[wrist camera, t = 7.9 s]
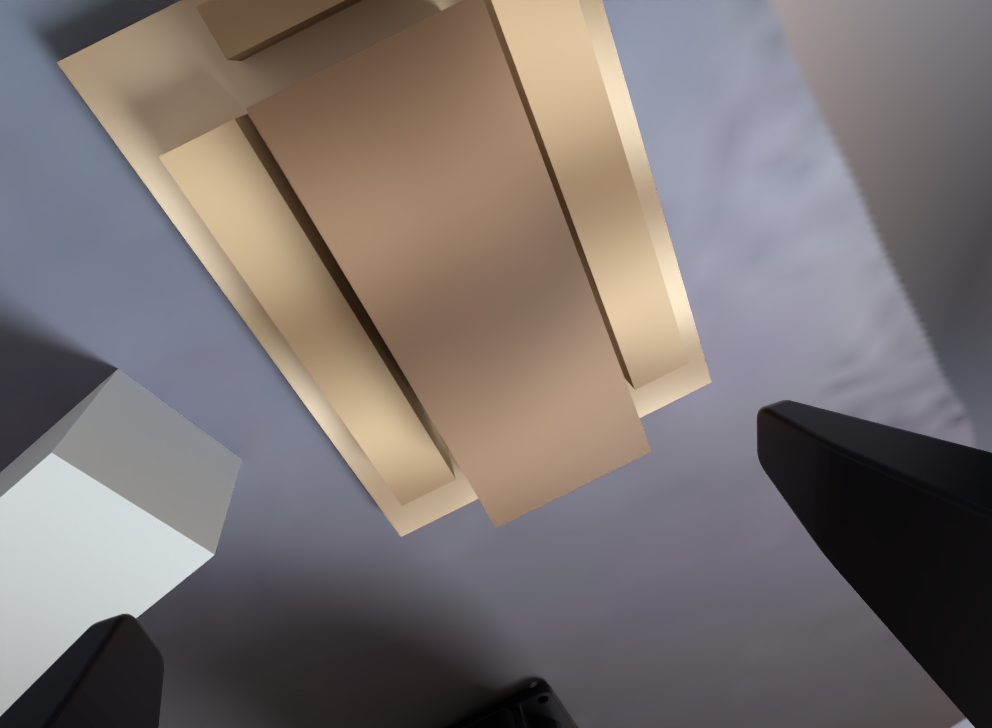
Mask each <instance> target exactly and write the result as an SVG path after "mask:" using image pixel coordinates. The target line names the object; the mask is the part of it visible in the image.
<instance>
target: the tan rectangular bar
mask: <svg viewBox="0 0 992 728" xmlns="http://www.w3.org/2000/svg"><path fill="white" fill-rule="evenodd" d="M246 110H247V112H248V113H249V115H250V117H251V118H252V120H253V122H254V123H255V125H256V127H257V128H258V130H259V132H260V133H261V135H262V137H263V139H264V140H265V142H266V144H267V145H268V147H269V149H270V150H271V152H272V154H273V155H274V157H275V159H276V160H277V162H278V164H279V165H280V167H281V169H282V170H283V172H284V174H285V175H286V177H287V179H288V180H289V182H290V184H291V185H292V187H293V189H294V190H295V192H296V194H297V195H298V197H299V199H300V200H301V202H302V204H303V205H304V207H305V209H306V210H307V212H308V214H309V215H310V217H311V219H312V221H313V222H314V224H315V226H316V227H317V229H318V231H319V232H320V234H321V236H322V237H323V239H324V241H325V242H326V244H327V246H328V247H329V249H330V251H331V252H332V254H333V256H334V257H335V259H336V261H337V262H338V264H339V266H340V267H341V269H342V271H343V272H344V274H345V276H346V277H347V279H348V281H349V282H350V284H351V286H352V287H353V289H354V291H355V292H356V294H357V296H358V298H359V299H360V301H361V303H362V304H363V306H364V308H365V309H366V311H367V313H368V314H369V316H370V318H371V319H372V321H373V323H374V324H375V326H376V328H377V329H378V331H379V333H380V334H381V336H382V338H383V339H384V341H385V343H386V344H387V346H388V348H389V349H390V351H391V353H392V354H393V356H394V358H395V359H396V361H397V363H398V364H399V366H400V368H401V369H402V371H403V373H404V374H405V376H406V378H407V380H408V381H409V383H410V385H411V386H412V388H413V390H414V391H415V393H416V395H417V396H418V398H419V400H420V401H421V403H422V405H423V406H424V408H425V410H426V411H427V413H428V415H429V416H430V418H431V420H432V421H433V423H434V425H435V426H436V428H437V430H438V431H439V433H440V435H441V436H442V438H443V440H444V441H445V443H446V445H447V446H448V448H449V450H450V451H451V453H452V455H453V457H454V458H455V460H456V462H457V463H458V465H459V467H460V468H461V470H462V472H463V473H464V475H465V477H466V478H467V480H468V482H469V483H470V485H471V487H472V488H473V490H474V492H475V493H476V495H477V497H478V498H479V500H480V502H481V503H482V505H483V507H484V508H485V510H486V512H487V513H488V515H489V517H490V518H491V520H492V522H493V523H494V525H495V527H496V528H498V527H500V526H502V525H504V524H506V523H508V522H510V521H512V520H514V519H516V518H518V517H520V516H522V515H524V514H526V513H528V512H530V511H532V510H535V509H537V508H539V507H541V506H543V505H545V504H547V503H549V502H551V501H553V500H555V499H557V498H559V497H561V496H563V495H565V494H567V493H569V492H571V491H573V490H575V489H577V488H579V487H581V486H583V485H585V484H587V483H589V482H591V481H593V480H595V479H597V478H599V477H601V476H603V475H605V474H607V473H609V472H611V471H613V470H615V469H617V468H619V467H621V466H623V465H625V464H627V463H629V462H631V461H633V460H635V459H637V458H639V457H641V456H643V455H645V454H647V453H649V452H651V448H650V445H649V443H648V440H647V437H646V435H645V432H644V429H643V426H642V424H641V421H640V418H639V416H638V413H637V410H636V408H635V405H634V402H633V400H632V397H631V394H630V392H629V389H628V386H627V384H626V381H625V378H624V375H623V373H622V370H621V367H620V365H619V362H618V359H617V357H616V354H615V351H614V349H613V346H612V343H611V341H610V338H609V335H608V333H607V330H606V327H605V324H604V322H603V319H602V316H601V314H600V311H599V308H598V306H597V303H596V300H595V298H594V295H593V292H592V290H591V287H590V284H589V282H588V279H587V276H586V273H585V271H584V268H583V265H582V263H581V260H580V257H579V255H578V252H577V249H576V247H575V244H574V241H573V239H572V236H571V233H570V231H569V228H568V225H567V222H566V220H565V217H564V214H563V212H562V209H561V206H560V204H559V201H558V198H557V196H556V193H555V190H554V188H553V185H552V182H551V180H550V177H549V174H548V171H547V169H546V166H545V163H544V161H543V158H542V155H541V153H540V150H539V147H538V145H537V142H536V139H535V137H534V134H533V131H532V129H531V126H530V123H529V120H528V118H527V115H526V112H525V110H524V107H523V104H522V102H521V99H520V96H519V94H518V91H517V88H516V86H515V83H514V80H513V78H512V75H511V72H510V69H509V67H508V64H507V61H506V59H505V56H504V53H503V51H502V48H501V45H500V43H499V40H498V37H497V35H496V32H495V29H494V27H493V24H492V21H491V18H490V16H489V13H488V10H487V8H486V5H485V2H484V0H462V1H460V2H458V3H456V4H454V5H452V6H450V7H448V8H446V9H444V10H442V11H440V12H438V13H436V14H434V15H432V16H430V17H428V18H426V19H424V20H422V21H420V22H418V23H416V24H414V25H412V26H410V27H408V28H406V29H404V30H402V31H400V32H398V33H396V34H394V35H392V36H390V37H388V38H386V39H384V40H382V41H380V42H378V43H376V44H374V45H372V46H370V47H368V48H366V49H364V50H362V51H360V52H358V53H356V54H354V55H352V56H350V57H348V58H346V59H344V60H342V61H340V62H338V63H336V64H334V65H332V66H330V67H328V68H326V69H324V70H322V71H320V72H318V73H316V74H314V75H312V76H310V77H308V78H306V79H304V80H302V81H300V82H298V83H296V84H294V85H292V86H290V87H288V88H286V89H284V90H282V91H280V92H278V93H276V94H274V95H272V96H270V97H268V98H266V99H264V100H262V101H260V102H258V103H256V104H254V105H251V106H249V107H247V108H246Z"/></svg>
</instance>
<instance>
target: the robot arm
mask: <svg viewBox="0 0 992 728" xmlns="http://www.w3.org/2000/svg"><path fill="white" fill-rule="evenodd" d="M757 452H758V458H759V461H760V464H761V466H762V468H763V469H764V471H765V472H766V474H767V475H768V476H769V478H770V479H771V481H772V482H773V484H774V485H775V486H776V488H777V489H778V491H779V492H780V493H781V495H782V496H783V498H784V499H785V501H786V502H787V503H788V505H789V506H790V508H791V509H792V510H793V512H794V513H795V515H796V516H797V518H798V519H799V520H800V522H801V523H802V525H803V526H804V527H805V529H806V530H807V532H808V533H809V535H810V536H811V537H812V539H813V540H814V542H815V543H816V544H817V546H818V547H819V548H820V550H821V551H822V552H823V553H824V555H825V556H826V557H827V558H828V560H829V561H830V562H831V563H832V564H833V566H834V567H835V568H836V569H837V570H838V571H839V573H840V574H841V575H842V576H843V577H844V578H845V579H846V581H847V582H848V583H849V584H850V585H851V586H852V587H853V589H854V590H855V591H856V592H857V593H858V594H859V595H860V597H861V598H862V599H863V600H864V601H865V602H866V603H867V605H868V606H869V607H870V608H871V609H872V610H873V611H874V613H875V614H876V615H877V616H878V617H879V618H880V619H881V621H882V622H883V623H884V624H885V625H886V626H887V627H888V629H889V630H890V631H891V632H892V633H893V634H894V635H895V637H896V638H897V639H898V640H899V641H900V642H901V643H902V645H903V646H904V647H905V648H906V649H907V650H908V651H909V653H910V654H911V655H912V656H913V657H914V658H915V659H916V661H917V662H918V663H919V664H920V665H921V666H922V668H923V669H924V670H925V671H926V672H927V673H928V674H929V676H930V677H931V678H932V679H933V680H934V681H935V682H936V684H937V685H938V686H939V687H940V688H941V689H942V690H943V692H944V693H945V694H946V695H947V696H948V697H949V698H950V700H951V701H952V702H953V703H954V704H955V705H956V706H957V708H958V709H959V710H960V711H961V712H962V713H963V714H964V716H965V717H966V718H967V719H968V720H969V721H970V722H971V724H972V725H973V726H974V727H975V728H992V453H991V452H987V451H984V450H980V449H976V448H972V447H968V446H964V445H960V444H956V443H953V442H949V441H945V440H941V439H937V438H933V437H929V436H926V435H922V434H918V433H914V432H910V431H906V430H902V429H898V428H895V427H891V426H887V425H883V424H879V423H875V422H871V421H868V420H864V419H860V418H856V417H852V416H848V415H844V414H840V413H837V412H833V411H829V410H825V409H821V408H817V407H813V406H810V405H806V404H802V403H798V402H794V401H790V400H783V401H779V402H776V403H773V404H770V405H767V406H764V407H762V408H761V409H760V410H759V411H758V414H757ZM163 675H164V662H163V657H162V654H161V652H160V650H159V648H158V647H157V646H156V644H155V643H154V642H153V640H152V639H151V638H150V637H149V635H148V634H147V633H146V631H145V630H144V629H143V627H142V626H141V625H140V623H139V622H138V621H137V619H136V618H135V617H134V616H132V615H130V614H120V615H117V616H114V617H110V618H107V619H104V620H101V621H99V622H96V623H94V624H93V625H91V626H90V627H89V628H88V629H87V630H86V631H85V632H84V633H83V634H82V635H81V636H80V637H79V638H78V639H77V640H76V641H75V642H74V643H73V644H72V645H71V646H70V647H69V648H68V649H67V650H66V651H65V652H64V653H63V654H62V655H61V656H60V657H59V658H58V659H57V660H56V661H55V662H54V663H53V664H52V665H51V666H50V667H49V668H48V669H47V670H46V671H45V672H44V673H43V674H42V675H41V676H40V677H39V678H38V679H37V680H36V681H35V682H34V683H33V684H32V685H31V686H30V687H29V688H28V689H27V690H26V691H25V692H24V693H23V694H22V695H21V696H20V697H19V698H18V699H17V700H16V701H15V702H14V703H13V704H12V705H11V706H10V707H9V708H8V709H7V710H6V711H5V712H4V713H3V714H2V715H1V716H0V728H158V726H159V716H160V705H161V695H162V685H163ZM453 728H578V727H577V726H576V724H575V723H574V721H573V720H572V718H571V717H570V715H569V714H568V712H567V711H566V709H565V708H564V706H563V705H562V703H561V702H560V700H559V699H558V697H557V696H556V694H555V693H554V691H553V690H552V688H551V687H550V686H549V685H547V684H540V685H537V686H535V687H533V688H531V689H529V690H527V691H525V692H523V693H521V694H519V695H517V696H515V697H513V698H511V699H509V700H507V701H505V702H503V703H501V704H499V705H497V706H495V707H493V708H491V709H489V710H487V711H485V712H483V713H481V714H479V715H477V716H475V717H473V718H471V719H469V720H467V721H465V722H463V723H461V724H459V725H457V726H455V727H453Z"/></svg>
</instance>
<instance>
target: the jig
mask: <svg viewBox="0 0 992 728" xmlns="http://www.w3.org/2000/svg"><path fill="white" fill-rule="evenodd" d="M460 1H462V0H180V1H178V2H176V3H174V4H172V5H170V6H168V7H166V8H164V9H162V10H160V11H158V12H156V13H154V14H152V15H150V16H148V17H146V18H144V19H142V20H140V21H138V22H136V23H134V24H132V25H130V26H128V27H126V28H124V29H122V30H120V31H118V32H116V33H114V34H112V35H110V36H108V37H106V38H104V39H102V40H100V41H99V42H97V43H95V44H93V45H91V46H89V47H87V48H85V49H83V50H81V51H79V52H77V53H75V54H73V55H71V56H69V57H67V58H65V59H63V60H61V61H59V62H57V63H58V65H59V66H60V68H61V69H62V70H63V72H64V73H65V74H66V76H67V77H68V79H69V80H70V81H71V83H72V84H73V85H74V87H75V88H76V90H77V91H78V92H79V94H80V95H81V96H82V98H83V99H84V101H85V102H86V103H87V105H88V106H89V108H90V109H91V110H92V112H93V113H94V114H95V116H96V117H97V119H98V120H99V121H100V123H101V124H102V125H103V127H104V128H105V130H106V131H107V132H108V134H109V135H110V136H111V138H112V139H113V141H114V142H115V143H116V145H117V146H118V147H119V149H120V150H121V152H122V153H123V154H124V156H125V157H126V159H127V160H128V161H129V163H130V164H131V165H132V167H133V168H134V170H135V171H136V172H137V174H138V175H139V176H140V178H141V179H142V181H143V182H144V183H145V185H146V186H147V187H148V189H149V190H150V192H151V193H152V194H153V196H154V197H155V198H156V200H157V201H158V203H159V204H160V205H161V207H162V208H163V209H164V211H165V212H166V214H167V215H168V216H169V218H170V219H171V221H172V222H173V223H174V225H175V226H176V227H177V229H178V230H179V232H180V233H181V234H182V236H183V237H184V238H185V240H186V241H187V243H188V244H189V245H190V247H191V248H192V249H193V251H194V252H195V254H196V255H197V256H198V258H199V259H200V260H201V262H202V263H203V265H204V266H205V267H206V269H207V270H208V272H209V273H210V274H211V276H212V277H213V278H214V280H215V281H216V283H217V284H218V285H219V287H220V288H221V289H222V291H223V292H224V294H225V295H226V296H227V298H228V299H229V300H230V302H231V303H232V305H233V306H234V307H235V309H236V310H237V311H238V313H239V314H240V316H241V317H242V318H243V320H244V321H245V323H246V324H247V325H248V327H249V328H250V329H251V331H252V332H253V334H254V335H255V336H256V338H257V339H258V340H259V342H260V343H261V345H262V346H263V347H264V349H265V350H266V351H267V353H268V354H269V356H270V357H271V358H272V360H273V361H274V362H275V364H276V365H277V367H278V368H279V369H280V371H281V372H282V373H283V375H284V376H285V378H286V379H287V380H288V382H289V383H290V385H291V386H292V387H293V389H294V390H295V391H296V393H297V394H298V396H299V397H300V398H301V400H302V401H303V402H304V404H305V405H306V407H307V408H308V409H309V411H310V412H311V413H312V415H313V416H314V418H315V419H316V420H317V422H318V423H319V424H320V426H321V427H322V429H323V430H324V431H325V433H326V434H327V436H328V437H329V438H330V440H331V441H332V442H333V444H334V445H335V447H336V448H337V449H338V451H339V452H340V453H341V455H342V456H343V458H344V459H345V460H346V462H347V463H348V464H349V466H350V467H351V469H352V470H353V471H354V473H355V474H356V475H357V477H358V478H359V480H360V481H361V482H362V484H363V485H364V487H365V488H366V489H367V491H368V492H369V493H370V495H371V496H372V498H373V499H374V500H375V502H376V503H377V504H378V506H379V507H380V509H381V510H382V511H383V513H384V514H385V515H386V517H387V518H388V520H389V521H390V522H391V524H392V525H393V526H394V528H395V529H396V531H397V532H398V533H399V535H400V536H401V537H402V536H404V535H406V534H408V533H410V532H412V531H414V530H416V529H418V528H420V527H422V526H424V525H426V524H428V523H430V522H432V521H434V520H436V519H438V518H440V517H442V516H444V515H446V514H448V513H450V512H452V511H454V510H456V509H458V508H460V507H462V506H464V505H466V504H468V503H470V502H472V501H474V500H476V499H478V497H477V495H476V493H475V492H474V490H473V488H472V487H471V485H470V483H469V482H468V480H467V478H466V477H465V475H464V473H463V472H462V470H461V468H460V467H459V465H458V463H457V462H456V460H455V458H454V457H453V455H452V453H451V451H450V450H449V448H448V446H447V445H446V443H445V441H444V440H443V438H442V436H441V435H440V433H439V431H438V430H437V428H436V426H435V425H434V423H433V421H432V420H431V418H430V416H429V415H428V413H427V411H426V410H425V408H424V406H423V405H422V403H421V401H420V400H419V398H418V396H417V395H416V393H415V391H414V390H413V388H412V386H411V385H410V383H409V381H408V380H407V378H406V376H405V374H404V373H403V371H402V369H401V368H400V366H399V364H398V363H397V361H396V359H395V358H394V356H393V354H392V353H391V351H390V349H389V348H388V346H387V344H386V343H385V341H384V339H383V338H382V336H381V334H380V333H379V331H378V329H377V328H376V326H375V324H374V323H373V321H372V319H371V318H370V316H369V314H368V313H367V311H366V309H365V308H364V306H363V304H362V303H361V301H360V299H359V298H358V296H357V294H356V292H355V291H354V289H353V287H352V286H351V284H350V282H349V281H348V279H347V277H346V276H345V274H344V272H343V271H342V269H341V267H340V266H339V264H338V262H337V261H336V259H335V257H334V256H333V254H332V252H331V251H330V249H329V247H328V246H327V244H326V242H325V241H324V239H323V237H322V236H321V234H320V232H319V231H318V229H317V227H316V226H315V224H314V222H313V221H312V219H311V217H310V215H309V214H308V212H307V210H306V209H305V207H304V205H303V204H302V202H301V200H300V199H299V197H298V195H297V194H296V192H295V190H294V189H293V187H292V185H291V184H290V182H289V180H288V179H287V177H286V175H285V174H284V172H283V170H282V169H281V167H280V165H279V164H278V162H277V160H276V159H275V157H274V155H273V154H272V152H271V150H270V149H269V147H268V145H267V144H266V142H265V140H264V139H263V137H262V135H261V133H260V132H259V130H258V128H257V127H256V125H255V123H254V122H253V120H252V118H251V117H250V115H249V113H248V112H247V110H246V108H247V107H249V106H251V105H254V104H256V103H258V102H260V101H262V100H264V99H266V98H268V97H270V96H272V95H274V94H276V93H278V92H280V91H282V90H284V89H286V88H288V87H290V86H292V85H294V84H296V83H298V82H300V81H302V80H304V79H306V78H308V77H310V76H312V75H314V74H316V73H318V72H320V71H322V70H324V69H326V68H328V67H330V66H332V65H334V64H336V63H338V62H340V61H342V60H344V59H346V58H348V57H350V56H352V55H354V54H356V53H358V52H360V51H362V50H364V49H366V48H368V47H370V46H372V45H374V44H376V43H378V42H380V41H382V40H384V39H386V38H388V37H390V36H392V35H394V34H396V33H398V32H400V31H402V30H404V29H406V28H408V27H410V26H412V25H414V24H416V23H418V22H420V21H422V20H424V19H426V18H428V17H430V16H432V15H434V14H436V13H438V12H440V11H442V10H444V9H446V8H448V7H450V6H452V5H454V4H456V3H458V2H460ZM484 2H485V5H486V8H487V10H488V13H489V16H490V18H491V21H492V24H493V27H494V29H495V32H496V35H497V37H498V40H499V43H500V45H501V48H502V51H503V53H504V56H505V59H506V61H507V64H508V67H509V69H510V72H511V75H512V78H513V80H514V83H515V86H516V88H517V91H518V94H519V96H520V99H521V102H522V104H523V107H524V110H525V112H526V115H527V118H528V120H529V123H530V126H531V129H532V131H533V134H534V137H535V139H536V142H537V145H538V147H539V150H540V153H541V155H542V158H543V161H544V163H545V166H546V169H547V171H548V174H549V177H550V180H551V182H552V185H553V188H554V190H555V193H556V196H557V198H558V201H559V204H560V206H561V209H562V212H563V214H564V217H565V220H566V222H567V225H568V228H569V231H570V233H571V236H572V239H573V241H574V244H575V247H576V249H577V252H578V255H579V257H580V260H581V263H582V265H583V268H584V271H585V273H586V276H587V279H588V282H589V284H590V287H591V290H592V292H593V295H594V298H595V300H596V303H597V306H598V308H599V311H600V314H601V316H602V319H603V322H604V324H605V327H606V330H607V333H608V335H609V338H610V341H611V343H612V346H613V349H614V351H615V354H616V357H617V359H618V362H619V365H620V367H621V370H622V373H623V375H624V378H625V381H626V384H627V386H628V389H629V392H630V394H631V397H632V400H633V402H634V405H635V408H636V410H637V413H638V416H639V418H641V417H643V416H645V415H647V414H649V413H651V412H653V411H655V410H657V409H659V408H661V407H663V406H665V405H667V404H669V403H671V402H673V401H675V400H677V399H679V398H681V397H683V396H685V395H687V394H689V393H691V392H693V391H695V390H697V389H699V388H701V387H703V386H705V385H707V384H709V383H711V379H710V375H709V372H708V368H707V365H706V361H705V358H704V354H703V351H702V347H701V344H700V340H699V337H698V333H697V330H696V326H695V323H694V319H693V316H692V312H691V309H690V305H689V302H688V298H687V295H686V291H685V288H684V284H683V281H682V277H681V274H680V271H679V267H678V264H677V260H676V257H675V253H674V250H673V246H672V243H671V239H670V236H669V232H668V229H667V225H666V222H665V218H664V215H663V211H662V208H661V204H660V201H659V197H658V194H657V190H656V187H655V183H654V180H653V176H652V173H651V169H650V166H649V162H648V159H647V155H646V152H645V148H644V145H643V141H642V138H641V134H640V131H639V128H638V124H637V121H636V117H635V114H634V110H633V107H632V103H631V100H630V96H629V93H628V89H627V86H626V82H625V79H624V75H623V72H622V68H621V65H620V61H619V58H618V54H617V51H616V47H615V44H614V40H613V37H612V33H611V30H610V26H609V23H608V19H607V16H606V12H605V9H604V5H603V2H602V0H484Z"/></svg>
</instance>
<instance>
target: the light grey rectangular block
mask: <svg viewBox="0 0 992 728" xmlns="http://www.w3.org/2000/svg"><path fill="white" fill-rule="evenodd" d="M241 461H242V459H240V458H239V457H238V456H236V455H235V454H234V453H232V452H231V451H230V450H228V449H227V448H225V447H224V446H223V445H221V444H220V443H219V442H217V441H216V440H215V439H213V438H212V437H211V436H209V435H208V434H206V433H205V432H204V431H202V430H201V429H200V428H198V427H197V426H196V425H194V424H193V423H192V422H190V421H189V420H187V419H186V418H185V417H183V416H182V415H181V414H179V413H178V412H177V411H175V410H174V409H173V408H171V407H170V406H168V405H167V404H166V403H164V402H163V401H162V400H160V399H159V398H158V397H156V396H155V395H153V394H152V393H151V392H149V391H148V390H147V389H145V388H144V387H143V386H141V385H140V384H139V383H137V382H136V381H134V380H133V379H132V378H130V377H129V376H128V375H126V374H125V373H124V372H122V371H121V370H120V369H117V370H116V371H115V372H114V373H113V374H111V375H110V376H109V377H108V378H107V379H106V380H105V381H103V382H102V383H101V384H100V385H99V386H98V387H97V388H96V389H94V390H93V391H92V392H91V393H90V394H89V395H88V396H86V397H85V398H84V399H83V400H82V401H81V402H80V403H79V404H77V405H76V406H75V407H74V408H73V409H72V410H71V411H69V412H68V413H67V414H66V415H65V416H64V417H63V418H62V419H60V420H59V421H58V422H57V423H56V424H55V425H54V426H52V427H51V428H50V429H49V430H48V431H47V432H46V433H45V434H43V435H42V436H41V437H40V438H39V439H38V440H37V441H35V442H34V443H33V444H32V445H31V446H30V447H29V448H28V449H26V450H25V451H24V452H23V453H22V454H21V455H20V456H18V457H17V458H16V459H15V460H14V461H13V462H12V463H11V464H9V465H8V466H7V467H6V468H5V469H4V470H3V471H1V472H0V716H1V715H2V714H3V713H4V712H5V711H6V710H7V709H8V708H9V707H10V706H11V705H12V704H13V703H14V702H15V701H16V700H17V699H18V698H19V697H20V696H21V695H22V694H23V693H24V692H25V691H26V690H27V689H28V688H29V687H30V686H31V685H32V684H33V683H34V682H35V681H36V680H37V679H38V678H39V677H40V676H41V675H42V674H43V673H44V672H45V671H46V670H47V669H48V668H49V667H50V666H51V665H52V664H53V663H54V662H55V661H56V660H57V659H58V658H59V657H60V656H61V655H62V654H63V653H64V652H65V651H66V650H67V649H68V648H69V647H70V646H71V645H72V644H73V643H74V642H75V641H76V640H77V639H78V638H79V637H80V636H81V635H82V634H83V633H84V632H85V631H86V630H87V629H88V628H89V627H90V626H91V625H93V624H94V623H96V622H99V621H101V620H104V619H107V618H110V617H114V616H117V615H120V614H130V615H132V616H134V617H135V618H137V617H138V616H140V615H141V614H142V613H143V612H145V611H146V610H147V609H148V608H150V607H151V606H152V605H153V604H154V603H156V602H157V601H158V600H159V599H161V598H162V597H163V596H164V595H166V594H167V593H168V592H169V591H171V590H172V589H173V588H174V587H176V586H177V585H178V584H179V583H180V582H182V581H183V580H184V579H185V578H187V577H188V576H189V575H190V574H192V573H193V572H194V571H195V570H197V569H198V568H199V567H200V566H202V565H203V564H204V563H205V562H206V561H208V560H209V559H210V558H211V557H213V556H214V555H215V552H216V549H217V545H218V542H219V538H220V535H221V531H222V528H223V524H224V521H225V517H226V514H227V510H228V507H229V503H230V500H231V496H232V493H233V489H234V486H235V482H236V479H237V475H238V472H239V468H240V465H241Z"/></svg>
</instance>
